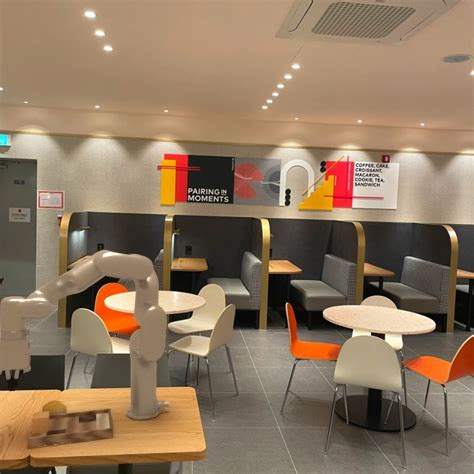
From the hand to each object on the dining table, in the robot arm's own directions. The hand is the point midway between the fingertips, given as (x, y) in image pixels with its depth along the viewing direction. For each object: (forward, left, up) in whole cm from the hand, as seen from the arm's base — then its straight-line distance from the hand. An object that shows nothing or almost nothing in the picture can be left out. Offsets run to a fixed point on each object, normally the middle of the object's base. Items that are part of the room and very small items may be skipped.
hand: (12, 389), depth 154 cm
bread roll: (-11, -19, -17) cm, 28 cm away
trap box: (-18, 0, -17) cm, 25 cm away
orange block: (-8, 0, -15) cm, 17 cm away
